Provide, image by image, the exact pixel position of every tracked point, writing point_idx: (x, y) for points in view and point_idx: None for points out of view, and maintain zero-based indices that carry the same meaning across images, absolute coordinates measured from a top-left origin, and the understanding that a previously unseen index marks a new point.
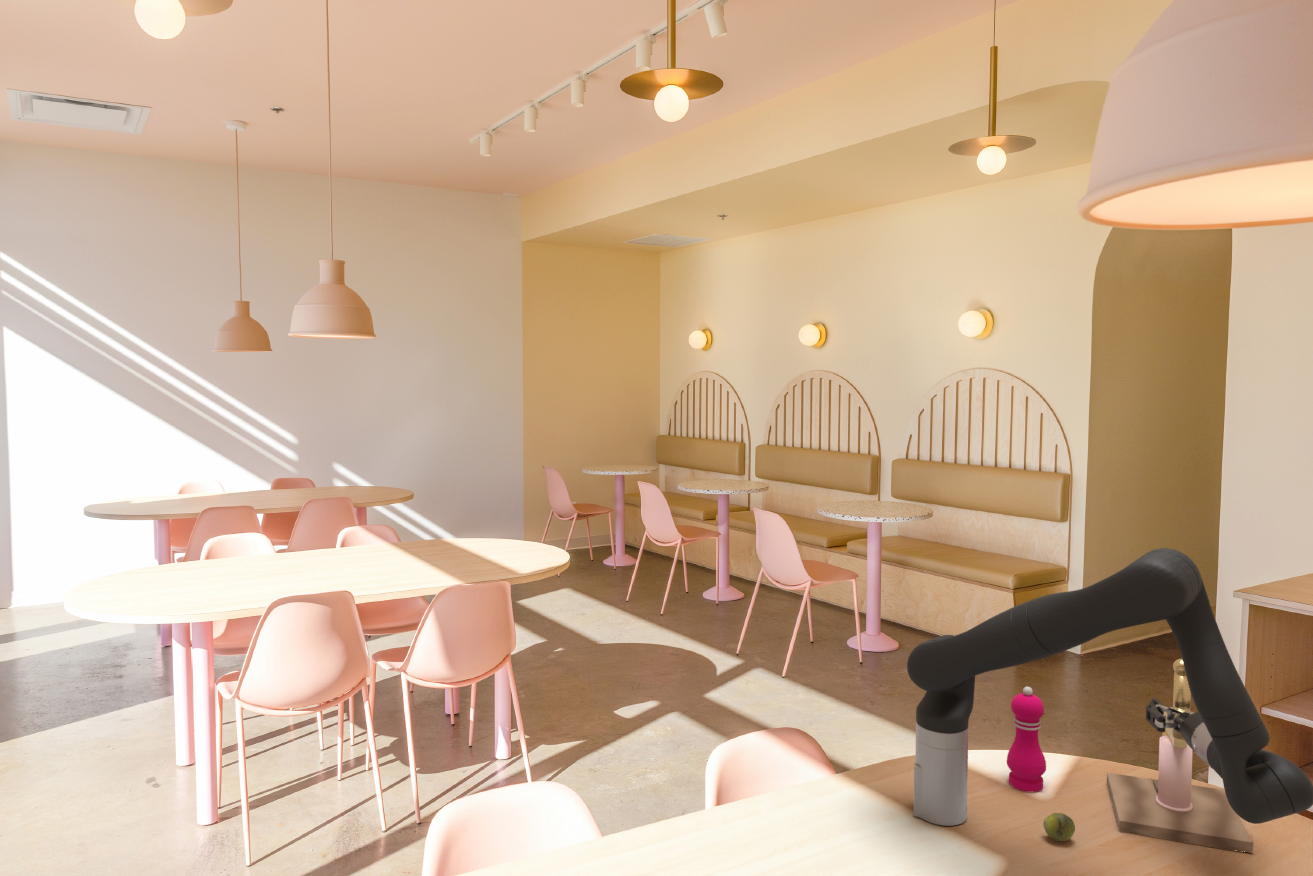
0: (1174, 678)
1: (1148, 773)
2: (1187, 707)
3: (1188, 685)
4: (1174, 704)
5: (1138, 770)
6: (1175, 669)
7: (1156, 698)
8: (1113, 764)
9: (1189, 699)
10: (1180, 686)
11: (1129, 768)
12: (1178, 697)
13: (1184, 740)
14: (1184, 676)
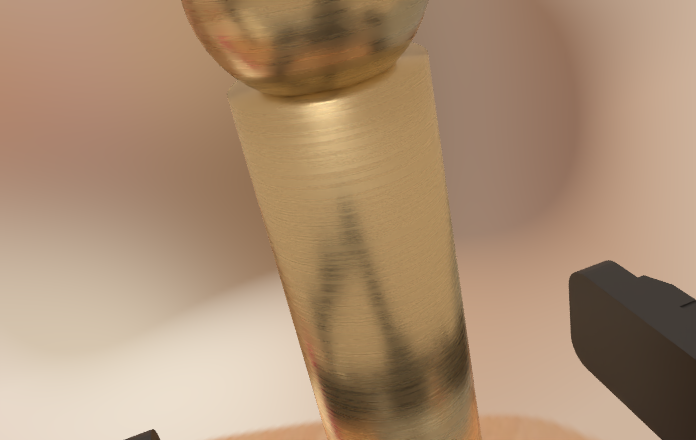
0: (247, 165)
1: None
2: (455, 432)
3: (421, 204)
4: (329, 434)
5: None
6: (206, 33)
7: (148, 436)
8: (257, 437)
9: (460, 347)
10: (332, 252)
11: (301, 435)
12: (345, 377)
13: None
14: (345, 100)
